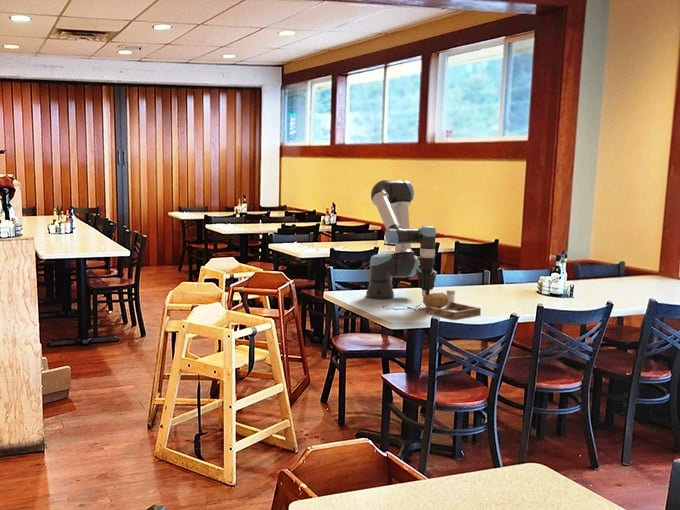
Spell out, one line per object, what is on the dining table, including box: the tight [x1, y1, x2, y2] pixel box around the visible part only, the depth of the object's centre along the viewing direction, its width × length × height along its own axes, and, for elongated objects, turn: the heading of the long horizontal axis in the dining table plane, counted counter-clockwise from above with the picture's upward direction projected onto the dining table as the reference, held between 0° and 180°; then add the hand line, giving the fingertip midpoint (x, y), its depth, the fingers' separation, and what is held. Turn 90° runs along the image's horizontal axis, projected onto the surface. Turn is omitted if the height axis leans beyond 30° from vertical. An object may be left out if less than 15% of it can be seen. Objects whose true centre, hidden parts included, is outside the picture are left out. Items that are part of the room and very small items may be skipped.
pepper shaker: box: [445, 289, 456, 308], centre depth 362 cm, size 4×4×8 cm
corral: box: [425, 301, 482, 320], centre depth 346 cm, size 19×19×3 cm
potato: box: [422, 292, 448, 309], centre depth 354 cm, size 10×14×8 cm
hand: (425, 302), depth 359 cm, fingers closed
